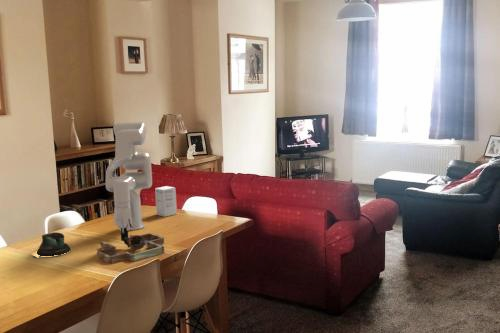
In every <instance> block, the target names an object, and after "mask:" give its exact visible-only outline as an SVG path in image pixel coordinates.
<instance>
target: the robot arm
mask: <svg viewBox="0 0 500 333" xmlns="http://www.w3.org/2000/svg"><path fill="white" fill-rule="evenodd" d="M113 134H114V136H115V149H114V150H115V151H114V152H115V154H114V155H115V156H114V159H112V160H111V161H110V163H109V165H108V166H107V168H106V172H105V189H106V191H108V192H111V193H113V199H114V200H113V201H114V203H113V204H114V211H113V221H114V224H113V225H114V226H116V227H118V229H119V232H120V241H122V242H124V241H123V240H124V238H125V237H129V232H130V231H136V230H141V229H143V228H145V223H143V222H142V220H143V219H142V205H141V204H142V202H141V196H140V193H138V191H137V190H143V189H145V190H146V189H150V188H151V187H152V186H153V173H152V172H153V171H152V170H153V169H152V159H151V156H150V154H149V153H148V152H143V151H141V152H138V151H137V146H142V145H144V143H145V140H146V135H147V125H146V124H145V122H143V121H142V122H141V121H139V122H138V121H137V122H135V121H134V122H119V123H115V124H114V125H113ZM119 167H122V169H124V170H126V171H130V172H124V173H122V174H121V175H120V176H113V173H114V172H115V170H116V169H117V168H119ZM137 170H139V171H137Z"/></svg>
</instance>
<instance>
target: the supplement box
mask: <svg viewBox="0 0 500 333" xmlns="http://www.w3.org/2000/svg"><path fill="white" fill-rule="evenodd" d="M154 190H155V191H154V192H155V208H156V209H155V210H156V215H158V216H161V217H164V218H165V217H169V216H174V215H177V214H178V211H177V210H178V208H177V193H176V192H177V191H176V187H174V186H169V185H165V186H161V187H155V189H154Z"/></svg>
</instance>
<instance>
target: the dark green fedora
mask: <svg viewBox="0 0 500 333" xmlns="http://www.w3.org/2000/svg"><path fill="white" fill-rule="evenodd" d="M41 239H42V240H41V243H40V245H39V246H38V249H37V250H36V251H37V254H38V255H40V256H54V255H60V256H62V255H61V254H64V253H66V254H68V253H70V252H71V247H70V245H69V244H67V243H66V242H65V235H64V233H62V232H49V233H46V234H42V235H41ZM69 251H70V252H69ZM67 252H68V253H67ZM64 255H65V254H64Z"/></svg>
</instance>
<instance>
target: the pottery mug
mask: <svg viewBox="0 0 500 333" xmlns="http://www.w3.org/2000/svg"><path fill="white" fill-rule="evenodd" d="M133 235H134V236H131V237H130V236H128V237H125V238H124V240H123V241H122V242H123V243H124V244H125V246H126V247H127V248H130V249H129V253H131V254H134V252H135V251H139V250H142V248H144V246H146V243H145V242H144V241H145V240H144V238H143V237H142V236H140V235H139V234H133ZM131 239H132V240H131ZM141 239H142V240H143V241H142V242H140V240H141Z"/></svg>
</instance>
